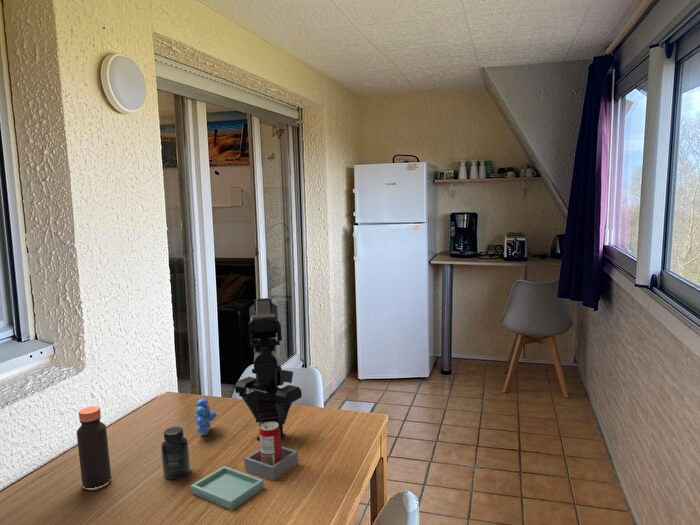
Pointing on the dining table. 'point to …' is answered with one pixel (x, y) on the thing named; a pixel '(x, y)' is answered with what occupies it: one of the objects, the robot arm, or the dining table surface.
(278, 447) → the soda can
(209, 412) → the grapes
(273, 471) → the frame
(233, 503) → the tray
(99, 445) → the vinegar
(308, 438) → the dining table surface
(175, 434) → the supplement bottle
